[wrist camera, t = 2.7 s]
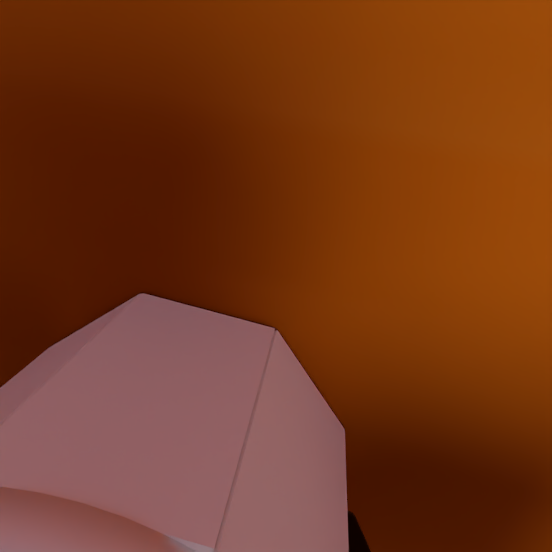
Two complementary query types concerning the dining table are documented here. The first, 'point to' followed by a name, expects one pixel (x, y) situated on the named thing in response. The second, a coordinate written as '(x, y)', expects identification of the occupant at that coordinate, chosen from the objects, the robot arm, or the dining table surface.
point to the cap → (170, 441)
